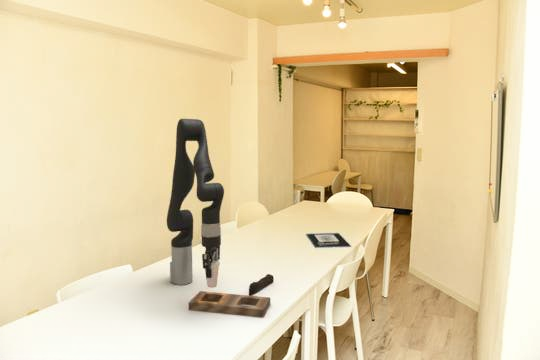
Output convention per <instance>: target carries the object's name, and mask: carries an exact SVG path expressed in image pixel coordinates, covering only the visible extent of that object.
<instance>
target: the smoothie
mask: <svg viewBox="0 0 540 360" xmlns="http://www.w3.org/2000/svg"><path fill="white" fill-rule="evenodd" d="M210 261H211V260H210ZM220 263H221V262H220V260H218V261H217V260H214V262H213V263H212V268H211V269H212V277H211V278H206V277H205V278H206V279H205V280H206V285H207V287H208V288H210V289H211V288H216V287H218V286H217V285H218V277H219V269H220V265H221V264H220ZM207 266H208V264H207ZM204 272H205V274H206V269H204Z"/></svg>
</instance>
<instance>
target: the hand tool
mask: <svg viewBox="0 0 540 360" xmlns="http://www.w3.org/2000/svg"><path fill="white" fill-rule="evenodd" d="M272 283H274V275H272V274H269V273H268V274H266V275H265V276H264V277H261V278H260V279H259V280H258V281H253V282H251V283H250V284H249V286H248V296H254V295H256V294H257V293H259V290H261V289H263V288H264V287H266V286H267V285H269V284H272Z"/></svg>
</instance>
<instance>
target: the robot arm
mask: <svg viewBox="0 0 540 360" xmlns="http://www.w3.org/2000/svg"><path fill="white" fill-rule="evenodd" d="M175 134H176V135H175V138H176V139H175V157H174V165H173V170H172V171H173V172H172V173H173V174H172V185H171V191H170V192H171V193H170V199H169V205H168V210H167V215H166V226H167V229H168V231H169V232H171V233H177V232H179V233H178V234H177V235H176V236H175V237H173V238H171V240H170V241H171V242H170V244H171V247H170V248H171V261H170V263H169V273H170V274H169V275H170V277H169V278H170V281H169V282H170V284H174V285H178V286H185V285H188V284H191V283H192V282H193V281H194V280H193V277H194V275H193V238H194V215H193V213H192V212H191V210H189V209H181V208H182V204H183V202H184V201H185V200H186V198H187V196H188V195H189V193H190V192H191V190H192V189H193V186H194V185H195V177H196V198H197V199H198V200H199V201H200V202H202V203H206V202H212V203H211V204H210V205H209V206H206V207H204V208H202V210H201V229H200V230H201V232H200V233H201V236H200V237H201V246H202V247H204V248H205V251H204V253H202V254H201V257H202V258H201V260H202V269H204V270H205V269H206V273H205V278H211V277H212V269H211V268H212V263H213V262H214V260H217V261H220V258H221V255H220V254H221V244H222V240H221V239H222V237H221V236H222V235H221V232H222V228H221V216H220V215H221V214H220V213H221V208H222V204H223V200H224V195H225V188H224V186H223V184H222V183H220V182H212V181H213V180H214V179H215V173H214V169H213V167H212V162H211V159H210V155H209V146H208V139H207V131H206V126H205V124H204V122H203V121H202V120H201V119H196V118H180V119H179V120H178V122H177V125H176V133H175ZM187 142H197V145H198V148H197V151H196V153H195V155H194V157H193V159H192V160H193V161H192V160H191V159H190V157H189V155H188V152H187V147H186V146H187ZM210 260H211V261H210ZM207 264H208V266H207Z"/></svg>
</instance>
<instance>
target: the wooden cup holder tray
mask: <svg viewBox="0 0 540 360" xmlns="http://www.w3.org/2000/svg"><path fill="white" fill-rule="evenodd" d="M270 306H271V297H267V296H257V295H249V294H248V295H245V294H236V293H235V294H234V293H225V292H215V291H203V290H200V291H198V292H197V294H195V295H194V296H193V297H192V298H191V299H190V300H189V301H188V310H189V311H196V312H197V311H199V312H208V313H209V312H210V313H217V314H224V315H225V314H227V315H236V316H238V315H239V316H249V317H254V318H255V317H256V318H264V317H265V315H266V313H267V311H268V309H269V308H270Z"/></svg>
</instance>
